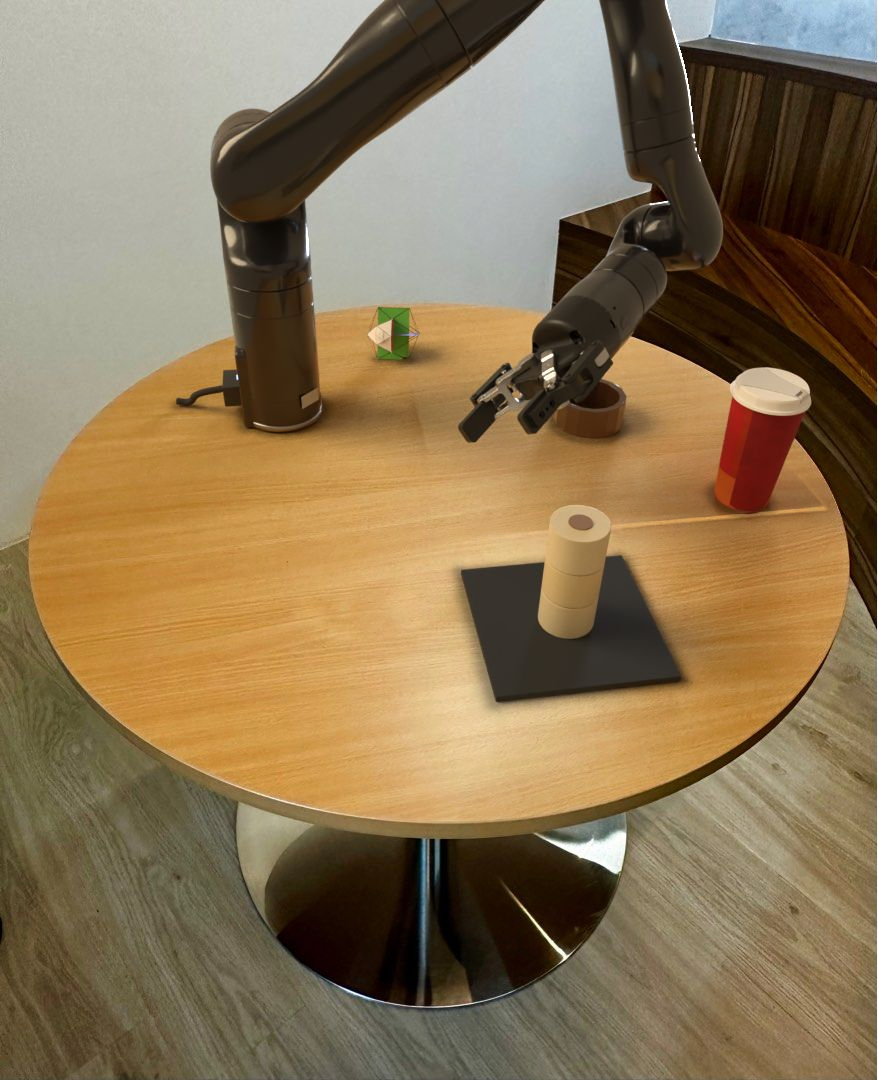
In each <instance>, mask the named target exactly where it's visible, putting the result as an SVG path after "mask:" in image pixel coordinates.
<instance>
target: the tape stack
mask: <svg viewBox="0 0 878 1080" xmlns="http://www.w3.org/2000/svg"><path fill="white" fill-rule="evenodd" d="M611 531H612V522H611V521H610V518H609V517H608V516H607V515H606V514H605V513H604V512H602V511H601V510H599V509H597V508H595V507H592V506H589V505H583V504H568V505H564V506H561V507H559V508H558V509H556V510H555V511H553V512H552V514H551V516H550V518H549V525H548V532H547V533H548V534H547V541H546V549H545V557H544V562H545V564H544V571H543V579H542V587H541V595H540V603H539V611H538V620H539V623H540V625H541V626H542V628H543V629H544V630H545V631H547V632H548V633H550V634H551V635H553V636H556V637H559V638H565V639H574V638H579V637H582V636H584V635H586V634H587V633H589V632H590V630H591V629H592V627H593V624H594V619H595V614H596V608H597V603H598V597H599V592H600V586H601V581H602V575H603V570H604V565H605V559H606V556H607V554H608V549H609V548H608V547H609V542H610V537H611Z"/></svg>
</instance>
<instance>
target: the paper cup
mask: <svg viewBox="0 0 878 1080" xmlns="http://www.w3.org/2000/svg"><path fill="white" fill-rule="evenodd" d="M729 390H730V394H731V400H730V405H729V411H728V416H727V421H726V427H725V430H724V431H725V432H724V437H723V442H722V446H721V452H720V457H719V463H718V467H717V473H716V478H715V484H714V496H715V498H716V499H717V500H718V501H719V502H720V503H721V504H723V505H725V506H726V507H728V508H731V509H732V510H733V509H734V510H735V511H736V510H737V511H742V512H739V514H741V515H755V514H758V513H760V512H761V510H763V509H764V508H765V507H766V506H767V505H768V503H769V501H770V500H771V497H772V494H773V492H774V490H775V487H776V485H777V481H778V479H779V477H780V475H781V471H782V470H783V467H784V464H785V462H786V460H787V458H788V455H789V452H790V450H791V447H792V445H793V443H794V441H795V438H796V435H797V434H798V431H799V428H800V425H801V422H802V421H803V417H804V414H805V413H806V412H807V411H808V410H809V409H810V407H811V405H812V398H811V395H810V394H811V389H810V386H809V385H808V383H807V382H806V380H804V379H803V378H802V377H801V376H799V375H797V374H795V373H792V372H790V371H788V370H784V369H781V368H775V367H767V366H766V367H753V368H748V369H746V370H745V371H743V372H742V373H740V374H739V375H738V376H736V378H735V380H733V381H732V382H731V383H730V385H729Z"/></svg>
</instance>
